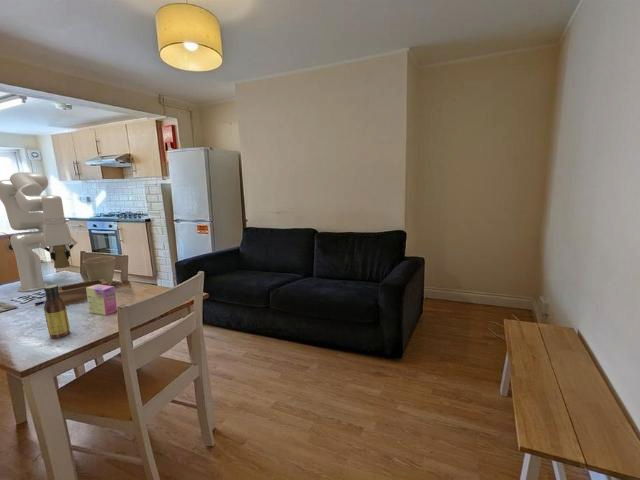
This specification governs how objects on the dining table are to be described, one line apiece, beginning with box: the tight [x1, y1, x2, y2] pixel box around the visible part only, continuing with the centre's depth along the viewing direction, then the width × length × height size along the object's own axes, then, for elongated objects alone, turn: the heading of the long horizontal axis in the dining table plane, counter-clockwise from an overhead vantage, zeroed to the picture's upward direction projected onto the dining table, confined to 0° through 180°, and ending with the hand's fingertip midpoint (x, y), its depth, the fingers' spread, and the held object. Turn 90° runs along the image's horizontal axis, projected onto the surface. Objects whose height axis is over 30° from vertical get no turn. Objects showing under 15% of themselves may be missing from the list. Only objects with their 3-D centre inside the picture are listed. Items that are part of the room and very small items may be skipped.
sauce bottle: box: [43, 284, 71, 339], centre depth 119 cm, size 7×6×20 cm
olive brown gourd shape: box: [53, 245, 71, 269], centre depth 153 cm, size 6×6×11 cm
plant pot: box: [82, 255, 116, 286], centre depth 178 cm, size 15×15×16 cm
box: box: [86, 284, 118, 316], centre depth 142 cm, size 10×6×12 cm, turn 71°
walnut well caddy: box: [58, 279, 108, 307], centre depth 160 cm, size 12×20×7 cm, turn 135°
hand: (61, 258), depth 154 cm, fingers closed on olive brown gourd shape, 4 cm apart
